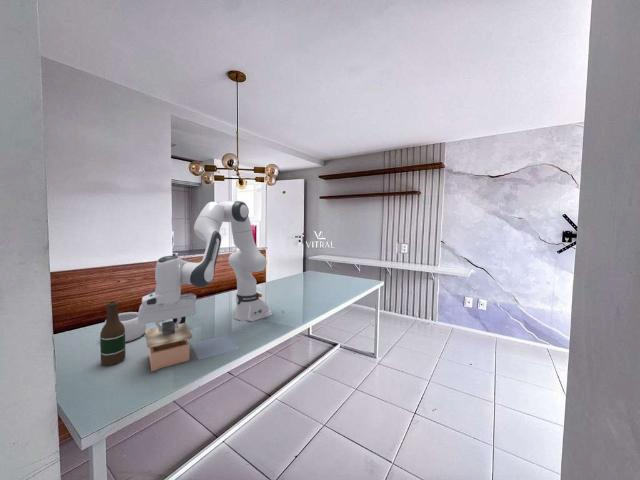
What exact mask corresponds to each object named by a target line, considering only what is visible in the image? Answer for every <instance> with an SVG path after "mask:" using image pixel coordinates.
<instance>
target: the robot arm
mask: <svg viewBox="0 0 640 480" xmlns="http://www.w3.org/2000/svg"><path fill="white" fill-rule="evenodd" d="M249 210H250V209H249V207H248V205H247V204H246V202H244V201H240V200H236V201H235V200H226V201H209V202H208V203H206V205H205V206H204V207H203V208H202V210H200V213H199V214H198V216H197V217H196V221H195V222H194V225H193V231H194V233H195V235H196V236H197V237H198V238H199V239H200V240H202V241H203V242H205V244H206V245H205V246H206V247H205V249H204V250H205V251H204V253H203V257H202V260H201V261H200V262H194V261H193V262H191V261H187V260H183V259H182V258H180V257H179V256H178V255H166V256H162V257H160V258H159V259H158V260H157V262H156V265H155V271H154V272H155V273H154V275H155V277H154V278H155V279H154V280H155V283H156V284H155V285H156V286H155V290H154V291H155V292H154V293H152V294H149V295H148V294H146V295H144V296H142V297H141V304H140V305H139V309H138V322H139V323H140V324H150V323H151V324H152V323H154V324H155V325H156V328H158V331H159V332H160V331H163V326H162V325H160V323H161V321H162V322H164V321H167V320H173V319H174V318H177V322H176V323H175V328H178V324H179V323H180V321H181V317H186V318H187V317H189V316H190V317H191V316H194V315H196V313H197V307H196V302H197V295H196V294H193V293H191V292H190V293H183V294H182V293H181V292H182V291H181V290H182V289H181V287H182V286H181V285H183V284H184V285H189V286H194V287H198V288H205V287H208V286H209V285H210V284H212V282H213V280H214V278H215V273H216V271H215V270H216V266H217V265H216V264H217V260H218V257H219V252H220V248H221V244H222V235H221V233H220V231H221V227H222V224H223V222H224V223H230V227H231V233H232V234H231V235H232V239H233V243H234V245H235V247H236V248H237V249H239V250H238V251H234V252H232V253H230V254H229V257H228V260H227V261H228V265H229V267H231V268H232V270H233V272H234V275H235V277H236V288H237V289H236V295H235V296H236V297H235V303H236V307H235V312H234V315H233V318H234V319H235V320H237V321H247V322H255V321H259V320H260V319H264V318H268V317H272V316H273V312H272V311H271V310H270V309H269V306H268V305H269V304H267V303H266V302H265V301H264V300H263V299H262V297H263V294H262V293H259V292H257V279H256V278H255V277H254V276H253V274H252V272H253V273H257V272H258V273H259V272H263V271H264V270H265V269H266V267H267V263H268V262H267V258H266V256H265V255H263V254H262V253H261V252H260V250H259V248H258V247H257V244H256V242H255V239H254V234H253V229H252V223H251V220H250V217H249V214H250V212H249Z"/></svg>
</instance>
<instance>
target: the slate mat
mask: <svg viewBox="0 0 640 480" xmlns="http://www.w3.org/2000/svg"><path fill="white" fill-rule="evenodd" d="M189 345H190V346H191V348H192V350H193V352H194V354H195V356H196V359H197V360H198V361H200V360H204V359H208V358H211V357H212V358H213V357H214V356H218V355H221V354H225V353H229V352H233V351H236V350H240V347H239V346H238V345H237V344H236V343H235V341H233V339H232V338H231V337H230V336H229V335H228V334H224V335H223V334H222V335H220V336H216V337H211V338H208V339H203V340H200V341H199V340H198V341H194V342H189Z"/></svg>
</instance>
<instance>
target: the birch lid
mask: <svg viewBox="0 0 640 480" xmlns="http://www.w3.org/2000/svg"><path fill="white" fill-rule="evenodd" d="M161 326H163V331H160V332H159V331H158V327H156V328H150V329H146V330H145V333H144V334H145V340H146V344H147V345H146V346H147V349H149V348H150V347H155V346H159V345H164V344H168V343H173V342H177V341H182V340H186V339H187V340H191V339H193V337H194V336H193V333H192V332H191V330H190V328H189V327H188V325H187V323H186V322H185V323H182V324H178V328H175V323H174V321H173V320H169V321H162V322H161Z"/></svg>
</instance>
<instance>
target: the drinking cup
mask: <svg viewBox="0 0 640 480" xmlns="http://www.w3.org/2000/svg"><path fill="white" fill-rule="evenodd" d="M186 319H187V316H186V317H181V321H180V323H179V324H182V323H186ZM172 321H174V323H176V322H177V318H174V319H172Z"/></svg>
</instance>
